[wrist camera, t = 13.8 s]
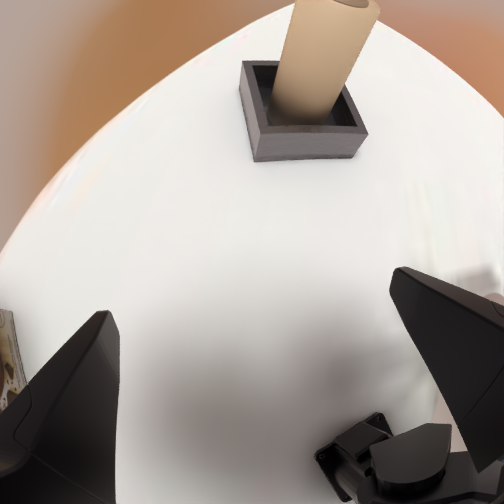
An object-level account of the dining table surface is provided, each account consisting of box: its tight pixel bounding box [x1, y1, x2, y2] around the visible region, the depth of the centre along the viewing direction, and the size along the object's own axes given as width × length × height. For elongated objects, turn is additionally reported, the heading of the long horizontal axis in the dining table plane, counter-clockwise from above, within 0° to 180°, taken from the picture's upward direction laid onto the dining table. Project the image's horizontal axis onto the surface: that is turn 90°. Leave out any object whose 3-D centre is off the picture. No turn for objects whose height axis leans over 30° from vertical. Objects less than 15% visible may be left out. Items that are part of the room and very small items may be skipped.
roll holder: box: [239, 61, 368, 162], centre depth 26 cm, size 10×10×4 cm
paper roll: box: [268, 0, 381, 126], centre depth 20 cm, size 6×6×14 cm
